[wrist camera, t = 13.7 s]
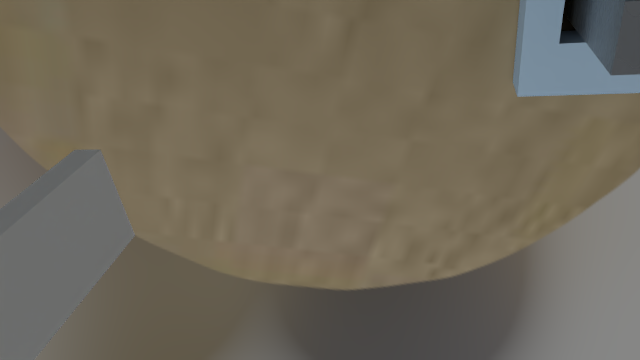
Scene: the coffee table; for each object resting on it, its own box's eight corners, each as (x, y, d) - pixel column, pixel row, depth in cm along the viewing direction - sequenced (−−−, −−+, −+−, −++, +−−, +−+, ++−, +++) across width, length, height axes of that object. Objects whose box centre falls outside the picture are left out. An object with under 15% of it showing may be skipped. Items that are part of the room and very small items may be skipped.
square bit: (574, -39, 35) (625, 1, 26) (637, -45, 34) (715, -5, 25) (566, 18, 37) (610, 75, 28) (625, 14, 37) (693, 72, 27)
